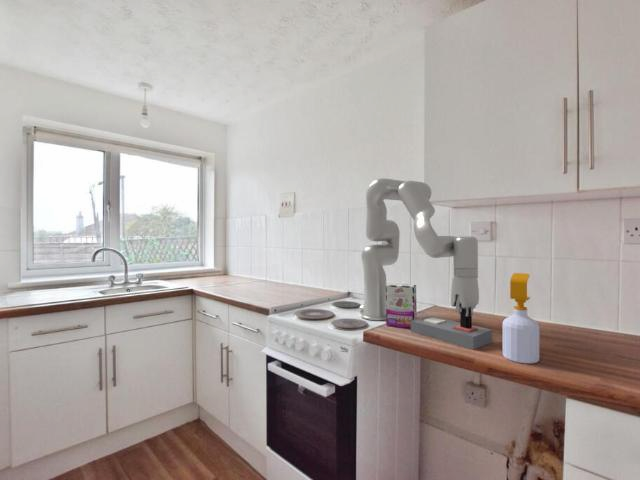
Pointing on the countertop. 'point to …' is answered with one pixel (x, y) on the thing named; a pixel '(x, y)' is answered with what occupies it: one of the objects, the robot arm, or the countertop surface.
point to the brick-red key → (465, 329)
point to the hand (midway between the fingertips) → (466, 327)
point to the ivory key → (434, 321)
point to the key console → (452, 333)
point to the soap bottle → (520, 326)
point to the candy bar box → (400, 305)
